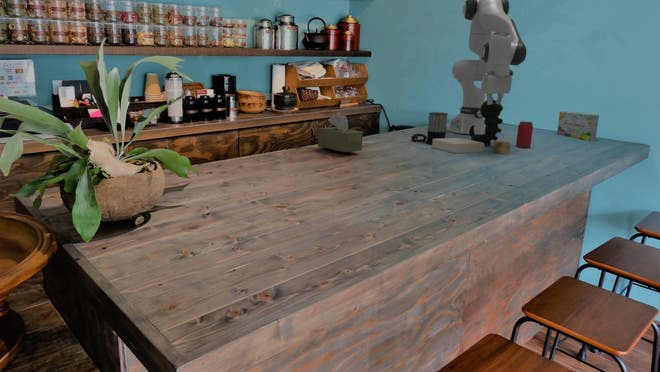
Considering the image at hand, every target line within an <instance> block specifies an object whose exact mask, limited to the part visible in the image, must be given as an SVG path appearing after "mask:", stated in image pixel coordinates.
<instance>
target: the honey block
mask: <svg viewBox="0 0 660 372" xmlns="http://www.w3.org/2000/svg"><path fill="white" fill-rule="evenodd" d="M492 143H493V144H492V150H491V151H492V153H493V154H499V155H507V154H510V148H511V142H510V141H503V140H496V141H495V140H493V142H492Z"/></svg>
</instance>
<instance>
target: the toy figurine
mask: <svg viewBox="0 0 660 372" xmlns="http://www.w3.org/2000/svg"><path fill="white" fill-rule="evenodd" d="M492 100H493V104H492V105H488V104H487V99H486V100H484V103H483V104H482V106H481V108H480V112H481V115H482V116H483V118H484V131H485V133H484V134H475V133H474V125H473V126H472V127H471V128H470V130H469V134H468V135H469V136H470V137H471V138H470V140H473V141H477V142H482V143H484V147H486V146H491V145H492V142H491V141H499V138H498V137H497V134H498V133H502V129H501V128H499V125H501V124H503V122H504V120H503V118H501V117H500V115H501V113H502V111H504V110H503V109H504V107H503V105H502V103H501V104H496V99H494V98H493V97H492Z"/></svg>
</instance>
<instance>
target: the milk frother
mask: <svg viewBox="0 0 660 372" xmlns="http://www.w3.org/2000/svg"><path fill="white" fill-rule="evenodd" d="M448 115H449V113H447V112H441V111H440V112H437V111H434V112H433V111H432V112H430V111H429V112H428V125H427V136H426V135H425V134H424V133H415V134H413V135H411V138H410V139H411V140H412V141H413V142H416V143H421V142H425V141H426V142H425V143H426V144H427V145H432V142H433V139H444V138H446V135H447V133H446V132H447V130H446V128H447V122H448ZM419 137H422V138H421V139H419Z"/></svg>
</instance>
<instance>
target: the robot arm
mask: <svg viewBox="0 0 660 372" xmlns="http://www.w3.org/2000/svg"><path fill="white" fill-rule="evenodd" d="M510 9H511V8H510V2H509V0H465V1H464V4H463V7H462V14H463V18H464V19H465V20H467V21H471V23H470V27H469V28H470V29H469V36H468V37H469V38H468V49H469V50H470V51H471V52H472V53H474V54H476V55H478V56H479V59H460V60H456V61H455V62H454V63H453V65H452V67H451V73H452V75H453V76H452V77H453V78H454V79H456V81H457V82H458V83H459V84H460V86H461V88H462V94H463V96H462V97H463V99H462V106H461V107H460V108H459V109H458V110H459V113H458V114H457V115H456V116H455V117H453V118H452V119H451V120H450V122H449V123H450V124H449V127H446V132H447V131H448V132H451V133H456V134H461V135H462V134H463V135H465V134H466V135H470V134H469V130H470V128H471V127H472V126H473V125H474V133H475V135H484V134H485V123H484V120H485V118H484V117H483V116H482V115H481V112H480V108H481V106H482V104H483V103H484V102H485V101H486V100H487V104H488V105H492V104H493V100H494V99H493V100H492V98H493V94H494V95H495V94H496V95H497V98H496V99H495V101H496V104H501V105H502V100H503V97H504V96H505V95H504V94H510V92H511V89H512V83H513V82H512V81H513V79H512V77H514V71H513V70H512V69H511V68H510V66H516V67H517V66H518V67H519V65H521V64H522V63H523V62H524V61H525V60H526V58H527V46H526V45H525V43H524V42H523V40H522V38H521V35H520V33H519V30H518V28H517V26H516V24H515V21H514V20H513V19H512V18H511V17H509V13H510ZM493 32H494V33H493ZM475 82H481V84H480V88H479V87H478V86H476V85H475ZM485 98H486V100H485Z"/></svg>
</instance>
